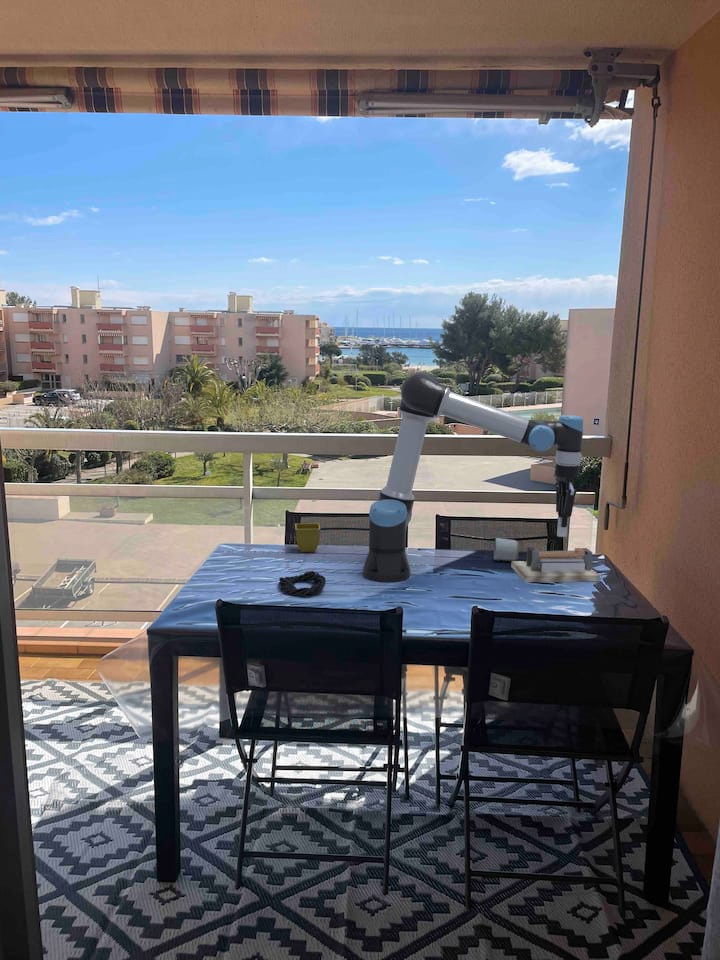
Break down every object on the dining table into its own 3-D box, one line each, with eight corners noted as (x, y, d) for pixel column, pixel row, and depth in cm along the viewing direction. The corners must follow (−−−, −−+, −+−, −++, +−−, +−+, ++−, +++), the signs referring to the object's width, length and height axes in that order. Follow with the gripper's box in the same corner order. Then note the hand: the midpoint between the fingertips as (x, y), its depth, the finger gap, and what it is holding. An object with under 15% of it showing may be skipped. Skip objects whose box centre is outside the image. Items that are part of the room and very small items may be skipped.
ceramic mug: (518, 563, 256) (520, 541, 254) (494, 562, 256) (495, 540, 255) (515, 555, 266) (516, 534, 265) (492, 554, 267) (493, 533, 266)
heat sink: (533, 573, 238) (535, 553, 237) (524, 563, 249) (525, 544, 248) (594, 572, 240) (595, 553, 239) (582, 563, 250) (583, 544, 249)
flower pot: (294, 547, 271) (294, 523, 269) (318, 547, 272) (319, 522, 270) (295, 554, 262) (295, 529, 260) (320, 553, 263) (320, 528, 261)
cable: (326, 599, 218) (326, 584, 217) (278, 599, 216) (278, 585, 216) (324, 580, 234) (324, 567, 234) (278, 581, 233) (278, 567, 232)
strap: (533, 558, 241) (533, 552, 241) (530, 555, 245) (530, 549, 244) (584, 557, 243) (584, 550, 242) (580, 554, 246) (580, 547, 246)
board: (525, 581, 236) (525, 575, 236) (511, 566, 252) (511, 561, 251) (599, 581, 238) (599, 575, 237) (580, 566, 254) (581, 560, 253)
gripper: (586, 467, 232) (580, 541, 237) (571, 461, 245) (565, 531, 249) (563, 467, 232) (557, 541, 236) (549, 460, 244) (543, 530, 249)
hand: (561, 536), depth 243 cm, fingers closed
